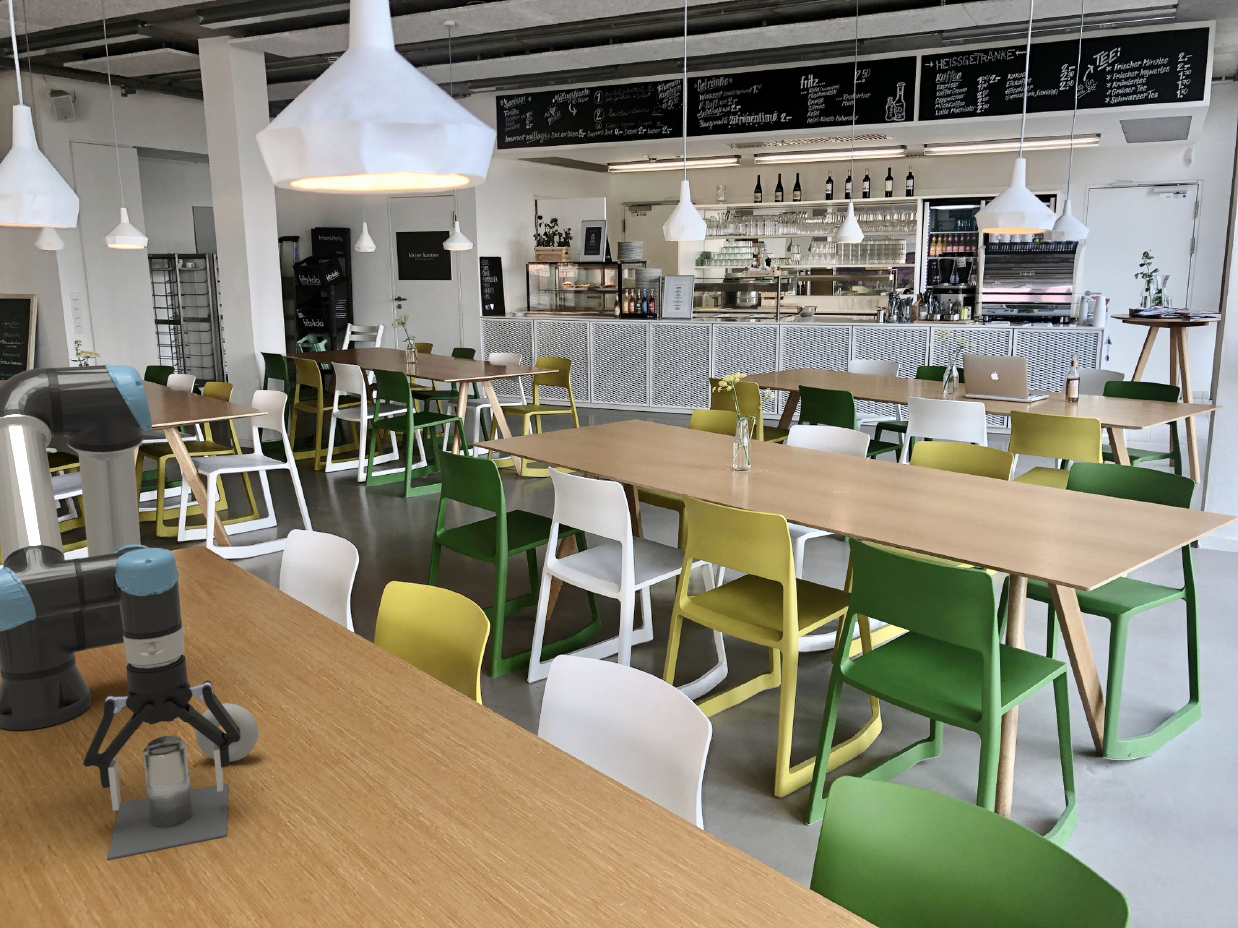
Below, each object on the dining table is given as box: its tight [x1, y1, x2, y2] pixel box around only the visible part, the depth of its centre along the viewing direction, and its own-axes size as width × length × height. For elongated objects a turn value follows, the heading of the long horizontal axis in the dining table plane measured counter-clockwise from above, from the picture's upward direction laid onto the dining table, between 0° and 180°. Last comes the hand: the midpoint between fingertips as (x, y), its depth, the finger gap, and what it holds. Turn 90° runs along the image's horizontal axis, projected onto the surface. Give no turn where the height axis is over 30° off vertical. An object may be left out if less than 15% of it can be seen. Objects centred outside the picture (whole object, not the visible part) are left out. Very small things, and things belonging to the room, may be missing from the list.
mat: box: [106, 782, 229, 861], centre depth 135 cm, size 15×15×1 cm
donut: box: [194, 702, 259, 763], centre depth 151 cm, size 10×4×10 cm, turn 92°
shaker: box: [142, 735, 193, 828], centre depth 134 cm, size 6×6×12 cm
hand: (169, 796), depth 134 cm, fingers open, 13 cm apart
